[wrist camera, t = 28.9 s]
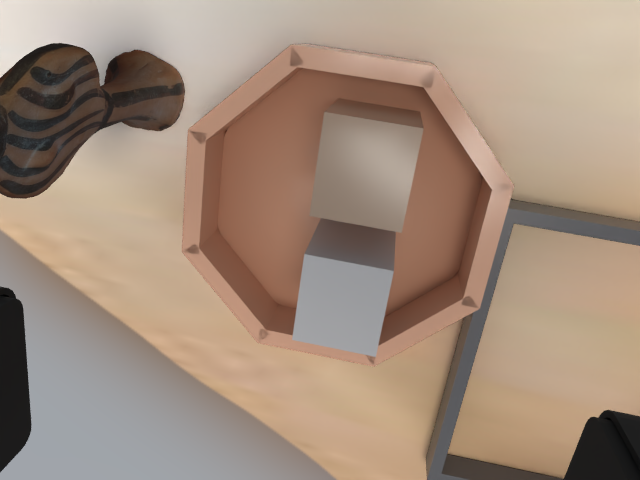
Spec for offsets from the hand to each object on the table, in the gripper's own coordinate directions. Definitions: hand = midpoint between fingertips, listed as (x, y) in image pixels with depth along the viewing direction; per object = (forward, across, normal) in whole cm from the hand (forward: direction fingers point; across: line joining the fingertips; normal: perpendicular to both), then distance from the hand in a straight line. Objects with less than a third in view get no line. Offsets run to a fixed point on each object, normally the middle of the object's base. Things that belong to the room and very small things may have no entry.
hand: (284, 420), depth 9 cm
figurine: (+24, +14, 0) cm, 28 cm away
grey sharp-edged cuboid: (+24, 0, +7) cm, 25 cm away
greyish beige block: (+24, 0, 0) cm, 24 cm away
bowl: (+24, +1, +4) cm, 25 cm away
